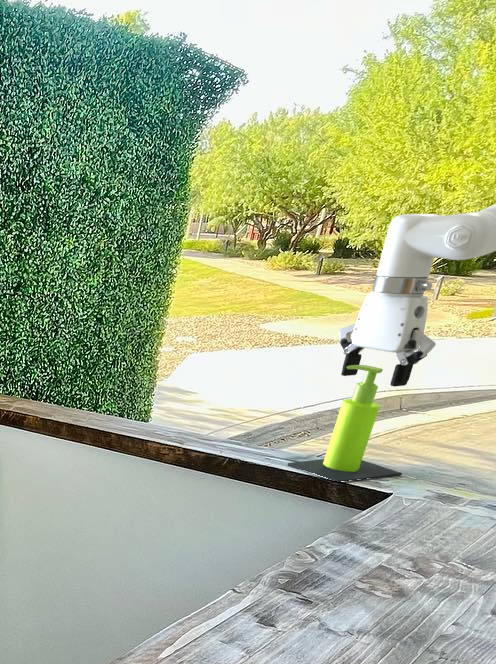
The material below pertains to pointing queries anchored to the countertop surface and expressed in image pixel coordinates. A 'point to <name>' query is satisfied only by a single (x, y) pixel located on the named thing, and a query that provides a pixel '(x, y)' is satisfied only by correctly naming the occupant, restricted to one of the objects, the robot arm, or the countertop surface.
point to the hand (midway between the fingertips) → (372, 380)
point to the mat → (363, 472)
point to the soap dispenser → (354, 424)
